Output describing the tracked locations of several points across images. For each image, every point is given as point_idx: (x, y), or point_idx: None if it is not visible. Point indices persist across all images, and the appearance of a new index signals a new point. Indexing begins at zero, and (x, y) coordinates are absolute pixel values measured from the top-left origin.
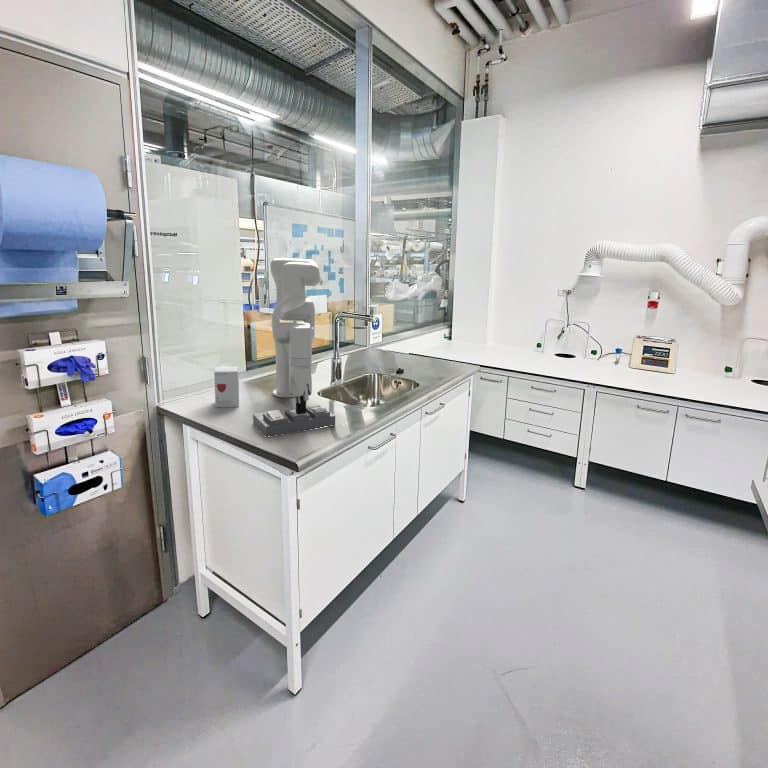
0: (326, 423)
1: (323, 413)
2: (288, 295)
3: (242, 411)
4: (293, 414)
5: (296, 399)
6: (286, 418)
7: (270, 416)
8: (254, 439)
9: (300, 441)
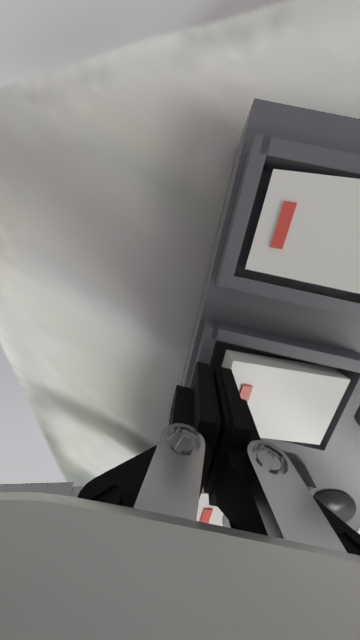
0: None
1: None
2: None
3: None
4: (255, 358)
5: (255, 469)
6: (225, 275)
7: (344, 180)
8: (264, 65)
9: (97, 266)
